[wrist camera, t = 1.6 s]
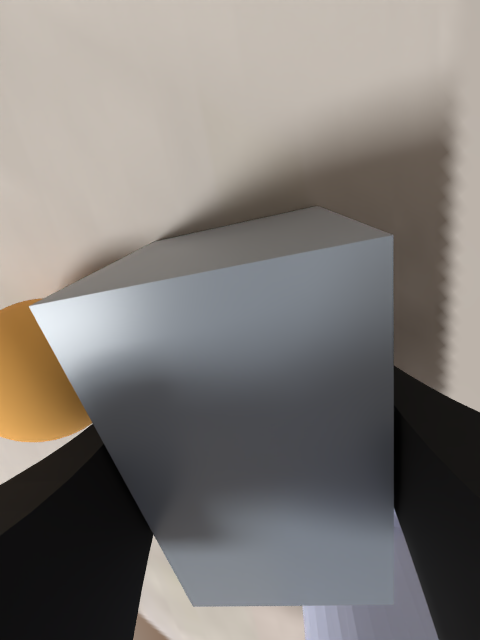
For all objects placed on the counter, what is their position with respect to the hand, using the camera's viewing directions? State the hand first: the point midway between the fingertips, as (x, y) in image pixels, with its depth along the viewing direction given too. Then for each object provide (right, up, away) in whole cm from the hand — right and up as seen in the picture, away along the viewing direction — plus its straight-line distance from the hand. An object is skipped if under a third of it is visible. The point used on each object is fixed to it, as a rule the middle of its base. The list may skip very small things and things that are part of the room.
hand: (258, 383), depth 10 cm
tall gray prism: (0, +1, +2) cm, 2 cm away
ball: (-8, +1, 0) cm, 7 cm away
